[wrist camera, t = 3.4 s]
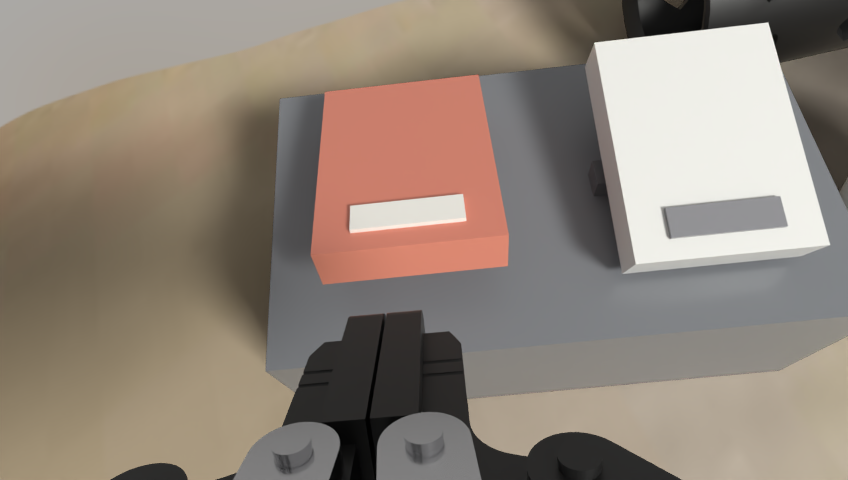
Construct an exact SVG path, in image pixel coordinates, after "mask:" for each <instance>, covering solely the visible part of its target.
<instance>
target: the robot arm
mask: <svg viewBox="0 0 848 480" xmlns="http://www.w3.org/2000/svg"><path fill="white" fill-rule="evenodd" d="M111 480H188V479H187V476H186V474H185V472H184V471H183V470H182V469H181V468H180V467H178V466H176V465H172V464H166V463H155V464H149V465H144V466H140V467H137V468H134V469H131V470H129V471H126V472H124V473H122V474H120V475H118V476H116V477H114V478H113V479H111ZM217 480H681V479H679V478H678V477H676V476H674V475H672V474H670V473H668V472H666V471H665V470H663V469H661V468H659V467H657V466H655V465H654V464H652V463H650V462H648V461H646V460H644V459H643V458H641V457H639V456H637V455H635V454H633V453H632V452H630V451H628V450H626V449H624V448H622V447H621V446H619V445H617V444H615V443H613V442H611V441H609V440H607V439H605V438H603V437H600V436H597V435H593V434H588V433H580V432H567V433H560V434H556V435H552V436H550V437H547V438H545V439H543V440H541V441H540V442H538V443H537V444H536V445H535V446H534V447H533V448H532V449H531V451H530V453H529V455H528V457H526V456H520V455H514V454H509V453H504V452H501V451H498V450H496V449H493V448H491V447H489V446H488V445H486V444H485V443H483V442H482V441H481V440H479V439H478V438H477V437H476V435H475V434H474V433H473V431H472V429H471V426H470V422H469V412H468V403H467V394H466V384H465V375H464V365H463V356H462V347H461V343H460V342H459V340H458V339H457V338H456V337H455V336H454V335H453V334H452V333H451V332H450V331H446V332H435V333H425V326H424V318H423V312H422V310H415V311H403V312H392V313H387V314H386V315H385V313H382V314H371V315H359V316H349V318H348V320H347V324H346V327H345V331H344V334H343V337H342V341H332V342H324V343H323V344H322V345H321V346H320V347H319V348H318V349H317V350H316V351H315V352H313V353H312V354H311V355H310V356H309V358H308V361H307V364H306V366H305V369H304V371H303V375H302V376H301V379H300V382H299V384H298V388H297V389H296V392H295V395H294V397H293V400H292V402H291V405H290V407H289V410H288V413H287V415H286V418H285V420H284V423H283V425H282V427H280V428H278V429H275V430H273V431H271V432H269V433H268V434H266V435H265V436H263V437H262V438H261V439H259V440H258V441H257V442H256V443H255V444H254V445H253V446H252V447H251V449H250V450H249V452H248V454H247V455H246V457H245V459H244V461H243V463H242V464H241V466H240V468H239V470H238V472H237V473H235V474H232V475H229V476H226V477H223V478H220V479H217Z"/></svg>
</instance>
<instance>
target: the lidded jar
mask: <svg viewBox="0 0 848 480" xmlns="http://www.w3.org/2000/svg"><path fill="white" fill-rule="evenodd" d="M839 194H840V196H841V198H842V200H843V202H844V204H845V206H846V209H847V211H848V177H847V179H846V181H845V183H844V184H843V186H842V188H841V190H840V192H839Z"/></svg>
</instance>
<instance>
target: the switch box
mask: <svg viewBox="0 0 848 480" xmlns="http://www.w3.org/2000/svg"><path fill="white" fill-rule="evenodd" d="M585 66H586V64H580V65H571V66H563V67H554V68H545V69H536V70H528V71H519V72H510V73H501V74H493V75H484V76H479V80H480V85H481V90H482V96H483V101H484V106H485V111H486V117H487V122H488V127H489V132H490V138H491V143H492V148H493V154H494V159H495V164H496V169H497V175H498V180H499V185H500V190H501V196H502V201H503V206H504V212H505V217H506V222H507V227H508V233H509V248H508V266H504V267H494V268H484V269H474V270H464V271H454V272H444V273H434V274H424V275H414V276H404V277H394V278H384V279H374V280H364V281H354V282H344V283H334V284H324V285H323V284H322V281H321V279H320V276H319V274H318V272H317V269H316V267H315V265H314V262H313V260H312V257H311V244H312V233H313V221H314V210H315V199H316V188H317V177H318V165H319V154H320V143H321V132H322V120H323V109H324V98H325V94H317V95H309V96H300V97H291V98H282V99H280V107H279V126H278V145H277V164H276V183H275V202H274V221H273V240H272V259H271V278H270V297H269V316H268V335H267V354H266V372H267V373H269V374H270V375H271V376H273V377H274V378H276V379H277V380H278V381H280V382H281V383H283V384H284V385H285V386H287V387H288V388H290V389H291V390H292V391H294V392H296V389H297V388H298V384H299V382H300V379H301V376H302V375H303V371H304V369H305V366H306V364H307V361H308V358H309V356H310V355H311V354H312V353H313V352H315V351H316V350H317V349H318V348H319V347H320V346H321V345H322V344H323V343H324V342H332V341H342V337H343V334H344V331H345V327H346V324H347V320H348V318H349V316H359V315H371V314H382V313H385V315H386V314H387V313H392V312H403V311H415V310H422V312H423V318H424V326H425V333H435V332H446V331H450V332H451V333H452V334H453V335H454V336H455V337H456V338H457V339H458V340H459V342H460V343H461V347H462V356H463V365H464V375H465V384H466V394H467V399H470V398H481V397H492V396H503V395H514V394H525V393H536V392H547V391H558V390H569V389H580V388H591V387H603V386H614V385H625V384H636V383H647V382H658V381H669V380H680V379H691V378H702V377H713V376H724V375H735V374H746V373H757V372H768V371H779V370H781V369H783V368H785V367H787V366H789V365H791V364H793V363H795V362H797V361H799V360H801V359H803V358H805V357H807V356H809V355H811V354H813V353H815V352H817V351H819V350H821V349H823V348H825V347H827V346H829V345H831V344H833V343H835V342H837V341H839V340H841V339H843V338H845V337H847V336H848V211H847V209H846V206H845V204H844V202H843V200H842V198H841V196H840V194H839V191H838V189H837V187H836V185H835V183H834V181H833V179H832V176H831V174H830V172H829V170H828V168H827V166H826V164H825V162H824V159H823V157H822V155H821V153H820V151H819V149H818V147H817V144H816V142H815V140H814V138H813V136H812V134H811V132H810V130H809V127H808V125H807V123H806V121H805V119H804V117H803V115H802V112H801V110H800V108H799V106H798V104H797V102H796V100H795V97H794V95H793V93H792V91H791V89H790V87H789V85H788V83H787V80H786V78H785V76H784V74H783V72H782V74H783V77H784V81H785V84H786V88H787V91H788V95H789V99H790V102H791V106H792V109H793V113H794V117H795V120H796V124H797V127H798V131H799V135H800V138H801V142H802V145H803V149H804V153H805V156H806V160H807V163H808V167H809V170H810V174H811V178H812V181H813V185H814V188H815V192H816V196H817V199H818V203H819V206H820V210H821V214H822V217H823V221H824V224H825V228H826V231H827V235H828V239H829V242H830V245H829V246H826V247H824V248H821V249H819V250H816V251H813V252H811V253H808V254H806V255H803V256H799V257H789V258H779V259H769V260H759V261H749V262H738V263H728V264H718V265H708V266H698V267H688V268H678V269H667V270H657V271H647V272H637V273H627V274H622V270H621V265H620V259H619V254H618V248H617V242H616V237H615V231H614V226H613V220H612V215H611V209H610V204H609V198H608V193H607V187H606V181H605V176H604V170H603V165H602V159H601V154H600V148H599V143H598V137H597V132H596V126H595V120H594V115H593V109H592V104H591V98H590V93H589V87H588V82H587V76H586V70H585Z"/></svg>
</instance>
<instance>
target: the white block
mask: <svg viewBox="0 0 848 480" xmlns="http://www.w3.org/2000/svg"><path fill="white" fill-rule="evenodd" d="M585 70H586V76H587V82H588V87H589V93H590V98H591V104H592V109H593V115H594V120H595V126H596V132H597V137H598V143H599V148H600V154H601V159H602V165H603V170H604V176H605V181H606V187H607V193H608V198H609V204H610V209H611V215H612V220H613V226H614V231H615V237H616V242H617V248H618V254H619V259H620V265H621V270H622V274H627V273H637V272H647V271H657V270H667V269H678V268H688V267H698V266H708V265H718V264H728V263H738V262H749V261H759V260H769V259H779V258H789V257H799V256H803V255H806V254H808V253H811V252H813V251H816V250H819V249H821V248H824V247H826V246H829V245H830V242H829V239H828V235H827V231H826V228H825V224H824V221H823V217H822V214H821V210H820V206H819V203H818V199H817V196H816V192H815V188H814V185H813V181H812V178H811V174H810V170H809V167H808V163H807V160H806V156H805V153H804V149H803V145H802V142H801V138H800V135H799V131H798V127H797V124H796V120H795V117H794V113H793V109H792V106H791V102H790V99H789V95H788V91H787V88H786V84H785V81H784V77H783V74H782V70H781V66H780V63H779V59H778V56H777V52H776V48H775V45H774V41H773V38H772V34H771V30H770V27H769V23H760V24H751V25H742V26H734V27H725V28H716V29H708V30H699V31H690V32H682V33H673V34H665V35H656V36H647V37H639V38H630V39H621V40H613V41H604V42H595V43H594V45H593V47H592V50H591V53H590V55H589V58H588V61H587V63H586V66H585Z"/></svg>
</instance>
